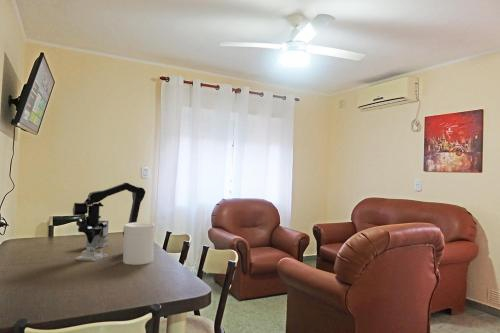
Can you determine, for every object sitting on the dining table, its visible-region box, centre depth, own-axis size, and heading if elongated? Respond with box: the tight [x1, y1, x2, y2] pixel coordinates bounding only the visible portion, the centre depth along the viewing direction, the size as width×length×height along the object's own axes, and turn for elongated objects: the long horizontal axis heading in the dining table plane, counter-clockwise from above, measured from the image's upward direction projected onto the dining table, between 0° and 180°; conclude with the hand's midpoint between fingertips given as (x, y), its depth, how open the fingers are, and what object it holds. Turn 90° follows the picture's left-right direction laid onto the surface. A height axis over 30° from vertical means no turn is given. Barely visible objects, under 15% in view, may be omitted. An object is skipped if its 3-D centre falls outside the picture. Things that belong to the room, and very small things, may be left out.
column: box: [85, 235, 99, 250], centre depth 188 cm, size 4×4×7 cm
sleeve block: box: [74, 248, 109, 262], centre depth 188 cm, size 12×12×4 cm
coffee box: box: [98, 219, 109, 248], centre depth 216 cm, size 9×6×16 cm
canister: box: [122, 221, 156, 266], centre depth 186 cm, size 16×16×20 cm
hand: (92, 242), depth 188 cm, fingers closed on column, 4 cm apart
